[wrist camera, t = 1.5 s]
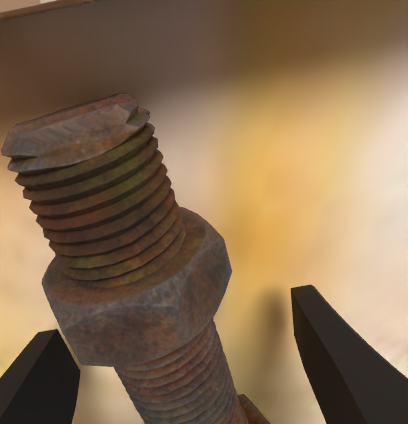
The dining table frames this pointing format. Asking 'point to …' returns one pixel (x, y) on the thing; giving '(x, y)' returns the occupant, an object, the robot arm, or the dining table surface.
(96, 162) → the bolt
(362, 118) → the dining table surface
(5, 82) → the dining table surface
